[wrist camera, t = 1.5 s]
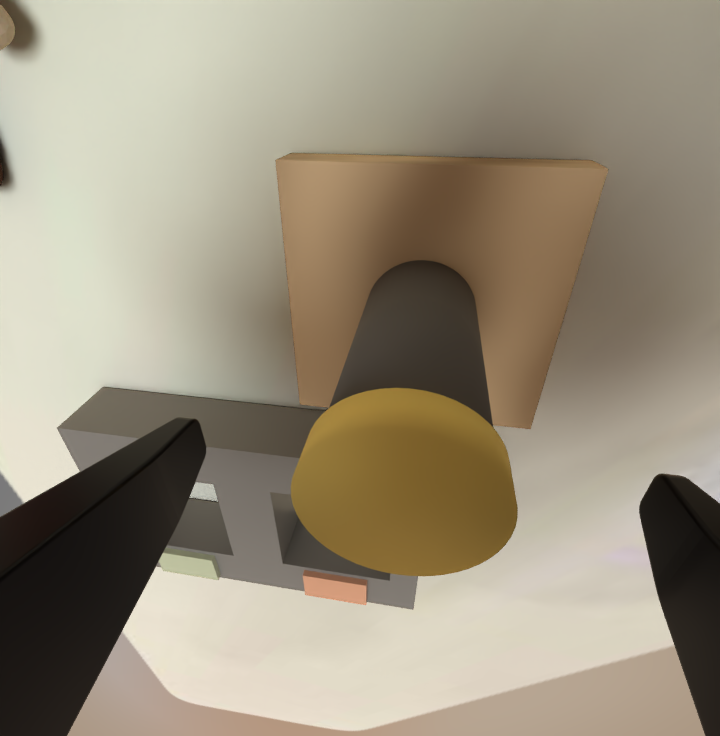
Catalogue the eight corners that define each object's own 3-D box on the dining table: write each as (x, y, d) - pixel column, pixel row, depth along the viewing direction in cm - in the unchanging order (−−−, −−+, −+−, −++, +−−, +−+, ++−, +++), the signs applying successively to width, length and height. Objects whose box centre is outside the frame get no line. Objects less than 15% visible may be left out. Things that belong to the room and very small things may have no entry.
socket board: (433, 423, 19) (431, 480, 16) (416, 555, 24) (412, 615, 21) (102, 387, 21) (51, 432, 18) (157, 517, 26) (124, 566, 24)
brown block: (592, 160, 12) (608, 169, 11) (524, 404, 17) (530, 429, 16) (290, 153, 13) (275, 159, 12) (309, 383, 18) (299, 404, 17)
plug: (492, 257, 13) (542, 441, 6) (472, 368, 15) (494, 590, 8) (360, 250, 13) (279, 412, 7) (360, 357, 16) (299, 559, 9)
